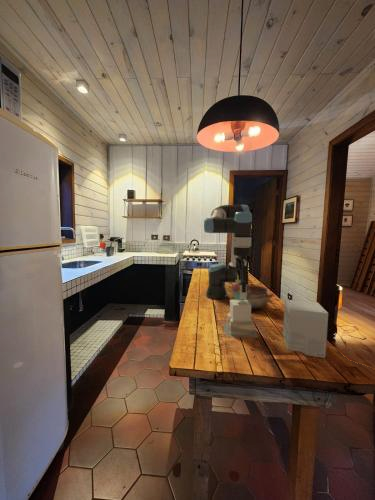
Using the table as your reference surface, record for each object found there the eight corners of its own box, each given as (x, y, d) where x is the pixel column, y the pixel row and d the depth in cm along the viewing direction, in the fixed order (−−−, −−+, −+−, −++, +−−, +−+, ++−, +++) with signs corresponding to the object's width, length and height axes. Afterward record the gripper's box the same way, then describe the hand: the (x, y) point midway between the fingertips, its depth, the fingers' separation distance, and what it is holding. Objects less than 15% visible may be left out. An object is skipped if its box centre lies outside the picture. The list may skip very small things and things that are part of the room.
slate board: (222, 325, 108) (222, 322, 108) (250, 325, 108) (250, 323, 108) (226, 339, 94) (226, 336, 94) (259, 339, 94) (259, 337, 94)
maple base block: (226, 324, 106) (227, 312, 105) (247, 325, 106) (247, 313, 105) (230, 334, 96) (231, 321, 95) (253, 334, 96) (253, 321, 95)
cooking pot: (268, 303, 142) (269, 285, 141) (277, 314, 123) (278, 293, 122) (229, 301, 144) (230, 283, 143) (232, 312, 125) (233, 291, 124)
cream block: (229, 313, 104) (229, 299, 104) (246, 313, 104) (246, 299, 104) (232, 320, 96) (233, 305, 96) (250, 320, 96) (251, 305, 96)
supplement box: (315, 341, 93) (318, 301, 92) (326, 358, 81) (329, 313, 79) (282, 337, 97) (284, 298, 95) (287, 352, 84) (289, 309, 83)
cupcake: (236, 302, 94) (237, 275, 93) (227, 296, 103) (228, 271, 102) (253, 301, 97) (254, 274, 96) (243, 295, 105) (244, 271, 104)
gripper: (229, 245, 108) (228, 289, 110) (239, 248, 87) (237, 303, 89) (244, 245, 108) (243, 289, 110) (257, 248, 87) (255, 303, 89)
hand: (240, 295), depth 99 cm, fingers closed on cupcake, 8 cm apart
